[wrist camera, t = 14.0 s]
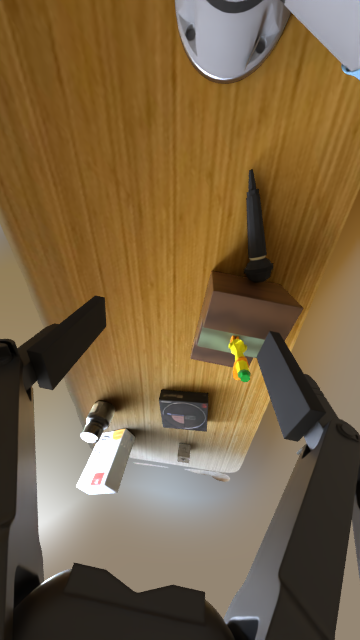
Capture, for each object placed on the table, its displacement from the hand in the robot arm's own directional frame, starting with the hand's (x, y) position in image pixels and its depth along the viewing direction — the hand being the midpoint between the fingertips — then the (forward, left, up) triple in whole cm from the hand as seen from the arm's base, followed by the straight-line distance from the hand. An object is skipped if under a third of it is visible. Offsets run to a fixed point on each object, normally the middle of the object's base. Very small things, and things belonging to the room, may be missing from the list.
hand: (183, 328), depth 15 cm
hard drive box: (+86, -19, -31) cm, 93 cm away
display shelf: (+16, +12, -31) cm, 36 cm away
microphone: (-6, +11, -31) cm, 33 cm away
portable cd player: (+55, +7, -31) cm, 63 cm away
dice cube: (+84, +12, -31) cm, 90 cm away
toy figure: (+16, +12, -23) cm, 30 cm away
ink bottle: (+66, -24, -31) cm, 77 cm away
